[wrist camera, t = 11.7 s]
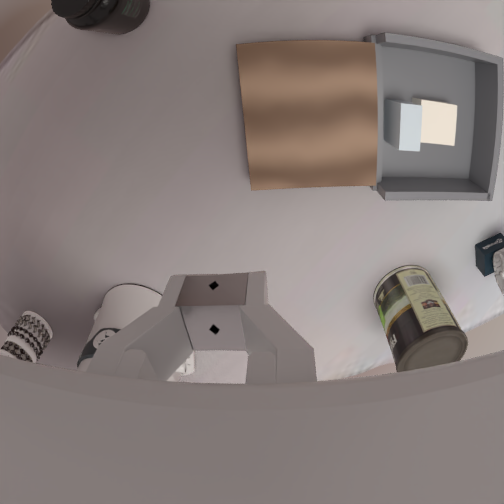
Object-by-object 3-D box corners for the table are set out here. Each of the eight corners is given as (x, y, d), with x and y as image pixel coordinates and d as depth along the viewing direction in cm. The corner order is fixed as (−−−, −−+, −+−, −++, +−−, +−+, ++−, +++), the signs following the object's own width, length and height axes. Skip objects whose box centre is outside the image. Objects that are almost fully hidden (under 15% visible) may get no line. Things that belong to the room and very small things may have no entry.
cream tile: (419, 142, 31) (410, 137, 33) (454, 145, 30) (444, 140, 33) (421, 99, 28) (412, 97, 30) (457, 105, 28) (447, 102, 30)
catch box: (469, 183, 36) (492, 200, 31) (366, 182, 37) (380, 200, 32) (476, 56, 27) (503, 58, 22) (363, 37, 28) (380, 32, 23)
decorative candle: (58, 329, 56) (5, 425, 34) (48, 346, 60) (2, 432, 38) (25, 302, 53) (-36, 392, 31) (18, 321, 57) (-34, 404, 35)
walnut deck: (366, 174, 37) (375, 185, 33) (252, 178, 38) (251, 190, 35) (364, 45, 29) (374, 42, 25) (239, 47, 30) (236, 44, 27)
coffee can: (382, 325, 50) (404, 392, 38) (364, 282, 45) (389, 354, 33) (436, 299, 47) (469, 362, 35) (425, 253, 42) (466, 318, 30)
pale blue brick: (383, 139, 33) (402, 141, 33) (398, 150, 29) (419, 151, 29) (384, 98, 31) (404, 100, 31) (401, 103, 27) (422, 105, 26)
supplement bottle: (93, 31, 28) (34, 26, 18) (111, -17, 25) (57, -37, 15) (140, 38, 29) (88, 30, 19) (159, -12, 26) (115, -39, 16)
